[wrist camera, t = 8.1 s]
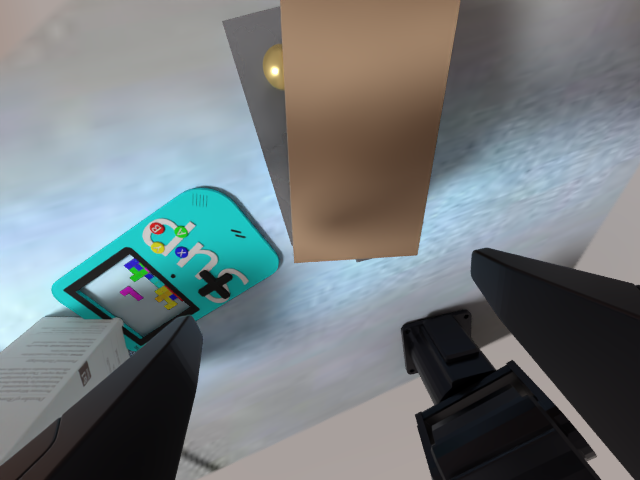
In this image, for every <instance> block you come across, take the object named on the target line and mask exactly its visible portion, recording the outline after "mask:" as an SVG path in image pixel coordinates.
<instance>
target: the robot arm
mask: <svg viewBox="0 0 640 480" xmlns="http://www.w3.org/2000/svg"><path fill="white" fill-rule="evenodd" d="M471 276H472V279H473V281H474V282H475V284H476V285H477V287H478V288H479V289H480V291H481V292H482V294H483V295H484V297H485V298H486V300H487V301H488V303H489V304H490V306H491V307H492V309H493V310H494V312H495V313H496V314H497V316H498V317H499V319H500V320H501V321H502V322H503V324H504V325H505V326H506V327H507V328H508V330H509V331H510V332H511V333H512V334H513V336H514V337H515V338H516V339H517V340H518V341H519V343H520V344H521V345H522V346H523V347H524V349H525V350H526V351H527V352H528V353H529V355H530V356H531V357H532V358H533V359H534V361H535V362H536V363H537V364H538V365H539V367H540V368H541V369H542V370H543V371H544V372H545V374H546V375H547V376H548V377H549V378H550V380H551V381H552V382H553V383H554V384H555V385H556V387H557V388H558V389H559V390H560V391H561V393H562V394H563V395H564V396H565V397H566V399H567V400H568V401H569V402H570V403H571V405H572V406H573V407H574V408H575V409H576V411H577V412H578V413H579V414H580V415H581V416H582V418H583V419H584V420H585V421H586V422H587V424H588V425H589V426H590V427H591V428H592V430H593V431H594V432H595V433H596V434H597V436H598V437H599V438H600V439H601V440H602V441H603V443H604V444H605V445H606V446H607V447H608V448H609V450H610V451H611V452H612V453H613V455H614V456H615V457H616V458H617V459H618V460H619V462H620V463H621V464H622V465H623V466H624V468H625V469H626V470H627V471H628V472H629V473H630V475H631V476H632V477H633V478H634V479H635V480H640V285H636V286H635V285H634V284H632V283H629V282H625V281H620V280H616V279H612V278H608V277H604V276H600V275H596V274H592V273H588V272H584V271H579V270H576V269H572V268H568V267H564V266H560V265H556V264H551V263H547V262H543V261H539V260H535V259H531V258H527V257H523V256H519V255H515V254H511V253H507V252H503V251H499V250H495V249H491V248H482V249H478V250H474V251H473V252H472V258H471ZM406 330H407V331H406ZM401 334H402V342H403V350H404V358H405V366H406V370H407V372H408V374H415V373H419V375H420V377H421V379H422V381H423V383H424V385H425V387H426V389H427V391H428V393H429V395H430V397H431V399H432V401H433V403H434V406H432V407H431V408H429V409H427V410H425V411H423V412H419V413H418V414H415V417H416V420H417V424H418V426H417V427H418V431H419V434H420V438H421V442H422V445H423V449H424V452H425V455H426V459H427V463H428V466H429V470H430V473H431V477H432V480H601V479H600V478H599V476H598V475H597V474H596V473H595V471H594V470H593V469H592V468H591V466H590V465H589V464H588V463H587V461H589V460H591V459H593V458H596V457H597V456H596V454H595V452H594V451H593V450H592V448H591V447H590V446H589V444H588V443H587V442H586V440H585V439H584V438H583V437H582V435H581V434H580V433H579V432H578V431H577V429H576V428H575V427H574V426H573V425H572V423H571V422H570V421H569V420H568V419H567V418H566V416H565V415H564V414H563V413H562V412H561V411H560V410H559V409H558V407H557V406H556V405H555V404H554V403H553V402H552V401H551V400H550V399H549V398H548V397H547V396H546V395H545V393H544V392H543V391H542V390H541V389H540V388H539V387H538V386H537V385H536V384H535V383H534V382H533V381H532V380H531V379H530V378H529V377H528V376H527V375H526V373H525V372H523V370H522V369H521V368H520V367H519V366H518V365H517V364H516V363H515V362H514V361H513V360H511V361H510V362H508V363H507V365H505V366H504V367H502V368H500V369H498V370H496V369H495V368H494V366H493V365H492V364H491V363H490V362H489V360H488V359H487V358H486V356H485V355H484V354H483V353H482V351H481V350H480V349H479V347H478V346H477V345H476V344H475V342H474V341H473V340H472V339H471V313H470V312H469V311H468V310H461V311H457V312H453V313H449V314H445V315H441V316H437V317H433V318H430V319H426V320H422V321H418V322H414V323H410V324H406V325H404V326H403V327H402V328H401ZM202 344H203V336H202V333H201V331H200V329H199V327H198V325H197V323H196V321H195V319H194V318H193V317H192V316H191V315H186V316H181V317H177V318H176V319H175V320H173V321H172V322H171V323H170V324H169V325H167V326H166V327H165V328H164V329H163V330H162V331H160V332H159V333H158V334H157V335H156V336H154V337H153V338H152V339H151V340H150V341H149V342H147V343H146V344H145V345H144V346H143V347H141V348H140V349H139V350H138V351H137V352H136V353H134V354H133V355H132V356H131V357H130V358H128V359H127V360H126V361H125V362H124V363H123V364H121V365H120V366H119V367H118V368H117V369H115V370H114V371H113V372H112V373H111V374H110V375H108V376H107V377H106V378H105V379H104V380H102V381H101V382H100V383H99V384H98V385H97V386H95V387H94V388H93V389H92V390H91V391H89V392H88V393H87V394H86V395H85V396H84V397H82V398H81V399H80V400H79V401H78V402H76V403H75V404H74V405H73V406H72V407H71V408H69V409H68V410H67V411H66V412H65V413H64V414H62V417H59V418H57V419H56V420H55V421H54V422H53V423H52V424H50V425H49V426H48V427H47V428H46V429H45V430H43V431H42V432H41V433H40V434H39V435H37V436H36V437H35V438H34V439H33V440H31V441H30V442H29V443H28V444H26V445H25V446H24V447H23V448H22V449H20V450H19V451H18V452H17V453H16V454H14V455H13V456H12V457H11V458H9V459H8V460H7V461H6V462H4V463H3V464H2V465H1V466H0V480H175V478H176V474H177V470H178V465H179V461H180V457H181V453H182V449H183V444H184V440H185V436H186V432H187V427H188V423H189V419H190V415H191V411H192V406H193V402H194V398H195V394H196V389H197V383H198V376H199V368H200V360H201V352H202Z"/></svg>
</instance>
